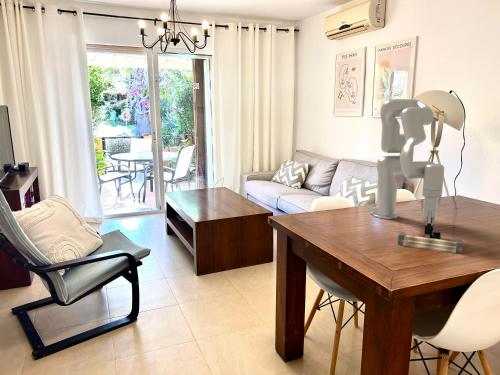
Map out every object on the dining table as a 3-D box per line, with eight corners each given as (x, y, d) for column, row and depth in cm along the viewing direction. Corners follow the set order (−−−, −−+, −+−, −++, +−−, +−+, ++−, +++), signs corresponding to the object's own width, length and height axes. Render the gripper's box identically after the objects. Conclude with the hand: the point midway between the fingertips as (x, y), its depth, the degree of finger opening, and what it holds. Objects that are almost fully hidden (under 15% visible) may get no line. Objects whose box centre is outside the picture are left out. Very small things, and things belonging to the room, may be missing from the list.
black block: (449, 246, 153) (450, 236, 152) (430, 246, 154) (431, 235, 153) (437, 236, 165) (438, 226, 164) (420, 236, 166) (421, 226, 165)
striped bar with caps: (397, 244, 154) (398, 235, 153) (399, 240, 159) (399, 231, 158) (461, 254, 143) (462, 244, 142) (461, 249, 148) (462, 239, 147)
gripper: (423, 189, 168) (420, 228, 171) (421, 195, 155) (417, 237, 158) (442, 190, 164) (438, 230, 168) (441, 197, 151) (437, 240, 155)
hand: (428, 234), depth 163 cm, fingers closed
